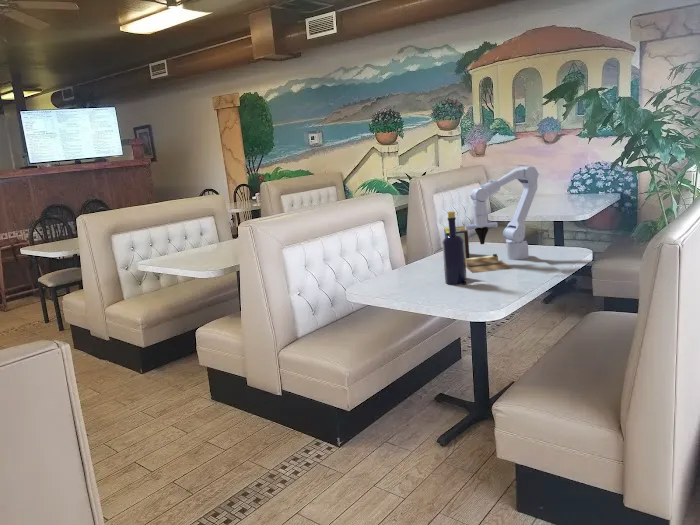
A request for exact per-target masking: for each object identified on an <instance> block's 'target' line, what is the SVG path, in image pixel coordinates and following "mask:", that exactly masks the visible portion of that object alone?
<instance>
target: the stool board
mask: <svg viewBox="0 0 700 525" xmlns="http://www.w3.org/2000/svg"><path fill="white" fill-rule="evenodd" d="M513 269H514V268H513V267H512V266H511V265H510V264H507V263H506V262H504V261H503V260H498V263H492V264H483V265H473V266H466V270H468V271H469V272H471V273H472V274H476V273H477V274H478V273H485V272H486V273H487V272H494V271H503V270H513Z"/></svg>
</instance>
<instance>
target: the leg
mask: <svg viewBox="0 0 700 525" xmlns="http://www.w3.org/2000/svg"><path fill="white" fill-rule="evenodd" d="M498 261H499V255H498V254H497V253H493V254H492V255H483V256H477V257H470V258H465V262H466V266H473V265H483V264H492V263H498Z"/></svg>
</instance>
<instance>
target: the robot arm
mask: <svg viewBox="0 0 700 525" xmlns="http://www.w3.org/2000/svg"><path fill="white" fill-rule="evenodd" d="M539 175H540V174H539V172H538V170H537V168H536V167H535V166H523V165H522V166H521V165H520V166H517V167H516V168H514V169H512V170H510V171H509V172H508V173H506V174H505V175H503V176H502V177H500V178H499V179H497V180H496V179H489V180H488V182H486V183H484V184H482V185H479V188H478V187H476V188H474V189H473V190H472V191H471V193H470V199H471V200H472V204H473V219H474V221H473V222H474V224H473V223H472V224H467V225H465V230H467V231H471V230H474V232H475V233H476V235H477V237H478V240H479V243H480V245H485V240H486V237H487V235H488V232H489V228H498V227H499V226H498V225H499V224H498V222H495V221H494V222H488V211H487V210H488V209H487V200H488V199H489V197H491V196H492V195H494V194H496V193H498V192H499V191H500V190H501V187H502V186H505V185H507V184H509V183H511V182H512V181H514V180H517V181H518V182H519V183H520V184H521V185H522V187H523V190H522V193H521V197H520V199H519V201H518V203H517V207H516V209H515V212H514V215H513V217H512V219H511V220H510V221H509V222H508V223H507V225H506V227H505V228H504V229H503V232H502V236H503V238H504V239H505V242H506V243H505V244H506V258H507V260H514V261H515V260H523V259H529V244H528V241H527V240H524V239H525V238H526V229H527V228H526V225H525V221H526V220H527V219H526V218H528V214H529V211H530V208H531V206H532V203H533V201H534V198H535V196H536V192H537V189H538V178H539Z"/></svg>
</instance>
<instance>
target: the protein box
mask: <svg viewBox="0 0 700 525" xmlns="http://www.w3.org/2000/svg"><path fill="white" fill-rule="evenodd" d="M465 226H466V225H465ZM465 226H464V225H462V226H461V225H460V226H456V235H459V236H461V237H462V239H463V240H464V247H465V258H471V257H470V243H469V230H465ZM443 232H444V238H445V237H447V236H450V233H449V227H444V229H443Z"/></svg>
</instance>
